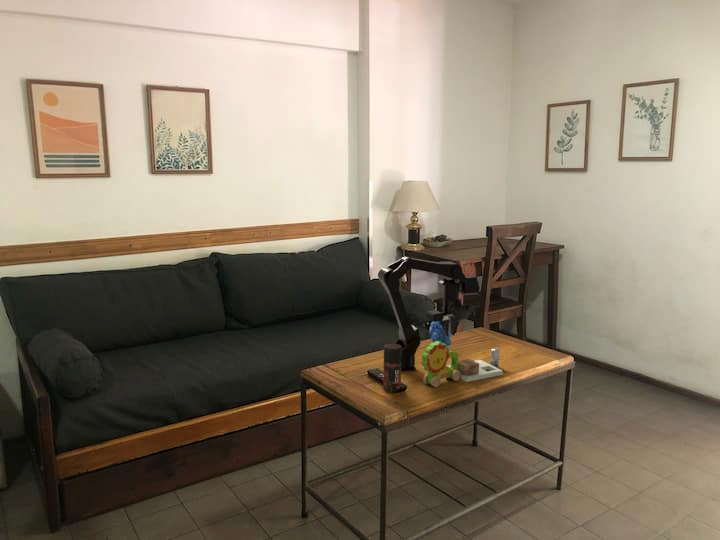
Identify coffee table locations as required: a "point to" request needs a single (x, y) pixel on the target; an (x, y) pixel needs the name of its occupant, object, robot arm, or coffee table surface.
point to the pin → (495, 357)
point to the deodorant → (392, 367)
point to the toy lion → (439, 364)
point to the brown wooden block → (468, 367)
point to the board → (482, 372)
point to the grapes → (439, 334)
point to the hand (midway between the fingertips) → (449, 335)
